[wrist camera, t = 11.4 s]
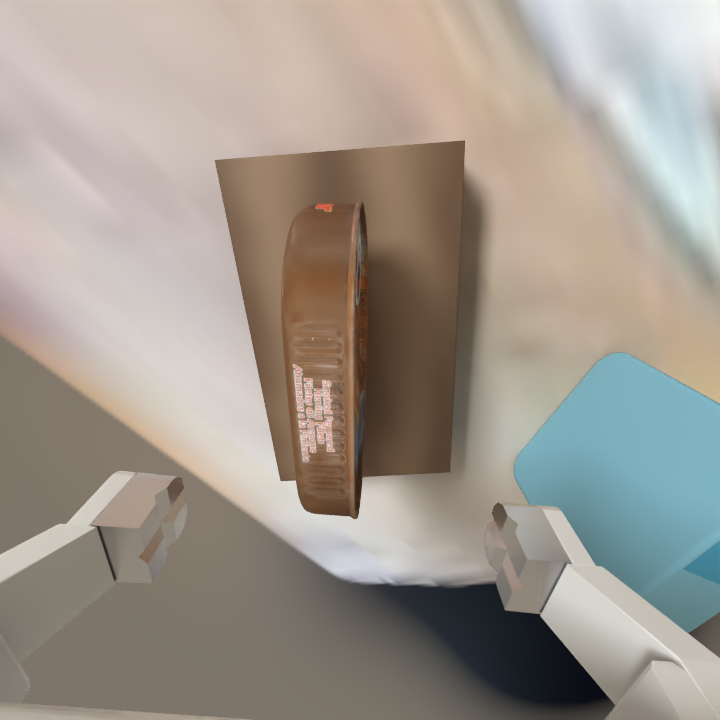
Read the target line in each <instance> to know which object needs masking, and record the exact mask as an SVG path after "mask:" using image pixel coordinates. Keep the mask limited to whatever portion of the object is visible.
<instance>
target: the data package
mask: <svg viewBox="0 0 720 720" xmlns="http://www.w3.org/2000/svg"><path fill="white" fill-rule="evenodd" d="M514 476H515V479H516V481H517V483H518V485H519V487H520V489H521V490H522V492H523V494H524V496H525V497H526V499H527V501H528V503H529V505H535V506H536V505H541V506H555V507H558V508H559V509H560V510H561V511H562V512H563V514H564V516H565V517H566V519H567V520H568V522H569V524H570V525H571V527H572V528H573V530H574V532H575V533H576V535H577V536H578V538H579V540H580V541H581V543H582V544H583V546H584V548H585V549H586V551H587V552H588V554H589V555H590V557H591V559H592V560H593V562H594V563H595V565H596V566H601V567H603V568H605V569H606V570H607V571H609V572H610V573H611V574H612V575H614V576H615V577H616V578H618V579H619V580H620V581H621V582H623V583H624V584H625V585H627V586H628V587H629V588H630V589H632V590H633V591H634V592H635V593H637V594H638V595H639V596H641V597H642V598H643V599H644V600H646V601H647V602H648V603H650V604H651V605H652V606H653V607H655V608H656V609H657V610H659V611H660V612H661V613H662V614H664V615H665V616H666V617H667V618H669V619H670V620H671V621H673V622H674V623H675V624H676V625H678V626H679V627H680V628H682V629H683V630H684V631H685V632H687V633H689V632H691V631H692V630H694V629H695V628H697V627H698V626H700V625H701V624H703V623H704V622H706V621H707V620H708V619H710V618H711V617H713V616H714V615H716V614H717V613H719V612H720V404H719V403H717V402H716V401H714V400H712V399H710V398H708V397H706V396H705V395H703V394H701V393H699V392H697V391H696V390H694V389H692V388H690V387H688V386H687V385H685V384H683V383H681V382H679V381H677V380H676V379H674V378H672V377H670V376H668V375H666V374H665V373H663V372H661V371H659V370H657V369H655V368H654V367H652V366H650V365H648V364H646V363H644V362H643V361H641V360H639V359H637V358H635V357H633V356H631V355H629V354H627V353H613V354H609V355H607V356H605V357H603V358H602V359H601V360H599V361H598V362H597V363H596V364H595V365H594V366H593V368H592V369H591V370H590V371H589V372H588V374H587V375H586V376H585V377H584V378H583V379H582V381H581V382H580V383H579V384H578V385H577V387H576V388H575V389H574V390H573V391H572V392H571V394H570V395H569V396H568V397H567V398H566V400H565V401H564V402H563V403H562V404H561V405H560V407H559V408H558V409H557V410H556V411H555V412H554V414H553V415H552V416H551V417H550V418H549V420H548V421H547V422H546V423H545V424H544V425H543V427H542V428H541V429H540V430H539V431H538V433H537V434H536V435H535V436H534V437H533V438H532V440H531V441H530V442H529V443H528V444H527V446H526V447H525V448H524V449H523V450H522V451H521V453H520V454H519V455H518V457H517V459H516V461H515V465H514Z"/></svg>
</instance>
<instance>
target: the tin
mask: <svg viewBox="0 0 720 720" xmlns="http://www.w3.org/2000/svg"><path fill="white" fill-rule="evenodd" d="M281 321H282V336H283V347H284V360H285V372H286V383H287V394H288V406H289V415H290V425H291V436H292V446H293V456H294V464H295V474H296V483H297V489H298V495H299V499H300V502H301V504H302V506H303V508H304V509H305V510H306V511H308V512H310V513H314V514H325V515H339V516H350V517H352V518H353V519H357V518H358V514H359V508H360V499H361V489H362V475H363V458H364V446H365V433H366V395H367V324H368V240H367V223H366V214H365V209H364V203H363V202H362V201H358V202H357V203H356V204H312V205H308V206H306V207H305V208H304V209H302V210H301V211H300V212H299V213H298V214H297V215H296V217H295V218H294V220H293V221H292V223H291V226H290V229H289V233H288V236H287V240H286V246H285V251H284V257H283V267H282V280H281Z"/></svg>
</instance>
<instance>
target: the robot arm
mask: <svg viewBox="0 0 720 720" xmlns="http://www.w3.org/2000/svg"><path fill="white" fill-rule="evenodd" d="M183 488H184V487H183V482H182V478H180V477H177V476H167V475H158V474H148V473H135V472H127V471H118V472H116V473H114V474H112V475H111V476H110V478H109V479H108V480H107V481H106V482H105V483H104V484H103V485H102V486H101V487H100V488H99V489H98V490H97V491H96V493H95V494H94V495H93V496H92V497H91V498H90V499H89V500H88V501H87V502H86V503H85V504H84V505H83V506H82V508H81V509H80V510H79V511H78V512H77V513H76V514H75V515H74V516H73V517H72V518H71V519H70V520H69V522H68V523H67V524H58V525H56V526H54V527H52V528H51V529H49V530H47V531H45V532H43V533H41V534H39V535H37V536H35V537H33V538H31V539H29V540H28V541H26V542H24V543H22V544H20V545H18V546H16V547H14V548H12V549H10V550H8V551H6V552H4V553H3V554H1V555H0V720H250V719H236V718H222V717H208V716H193V715H178V714H165V713H164V714H163V713H150V712H136V711H121V710H107V709H92V708H78V707H63V706H49V705H34V704H20V703H21V701H22V700H23V698H24V697H25V695H26V693H27V692H28V691H29V689H30V681H29V679H28V677H27V675H26V674H25V672H24V671H23V669H22V667H21V666H20V664H19V663H20V662H21V661H22V660H23V659H25V658H26V657H27V656H28V655H30V654H31V653H32V652H33V651H34V650H36V649H37V648H38V647H39V646H40V645H42V644H43V643H44V642H45V641H46V640H48V639H49V638H50V637H51V636H53V635H54V634H55V633H56V632H57V631H59V630H60V629H61V628H62V627H63V626H64V625H66V624H67V623H68V622H69V621H71V620H72V619H73V618H74V617H76V616H77V615H78V614H79V613H80V612H82V611H83V610H84V609H85V608H86V607H88V606H89V605H90V604H91V603H92V602H94V601H95V600H96V599H97V598H98V597H100V596H101V595H102V594H103V593H105V592H106V591H107V590H108V589H109V588H111V587H112V586H113V585H114V584H115V582H135V583H153V582H154V580H155V578H156V576H157V575H158V573H159V571H160V569H161V567H162V566H163V564H164V562H165V560H166V558H167V557H168V556H167V550H166V547H167V546H169V545H170V544H172V543H173V542H175V541H176V540H177V539H178V537H179V535H180V533H181V531H182V530H183V527H184V523H185V520H186V515H187V504H186V501H185V499H184V498H183V497H182V496H181V495H180V493H181V492H182V490H183ZM492 514H493V517H494V519H495V520H494V521H493V522H492V523H490V524H489V525H488V526H487V530H486V533H485V549H486V555H487V558H488V561H489V564H490V565H491V566H492V567H493V568H494V569H495V570H496V571H497V572H498V573H499V574H498V576H497V579H496V585H497V588H498V591H499V594H500V597H501V600H502V602H503V605H504V609H505V610H508V611H518V612H528V613H536V614H541V617H542V619H543V620H544V621H545V622H546V623H547V624H548V626H549V627H550V628H551V629H552V630H553V631H554V633H555V634H556V635H557V636H558V638H559V639H560V640H561V641H562V642H563V643H564V645H565V646H566V647H567V648H568V649H569V651H570V652H571V653H572V654H573V655H574V656H575V658H576V659H577V660H578V661H579V662H580V664H581V665H582V666H583V667H584V668H585V670H586V671H587V672H588V673H589V674H590V675H591V677H592V678H593V679H594V680H595V681H596V683H597V684H598V685H599V686H600V687H601V688H602V690H603V691H604V692H605V693H606V695H607V696H608V697H609V698H610V699H611V700H612V701H613V703H614V704H615V705H616V706H615V707H614V709H613V710H612V711H611V712H610V714H609V715H608V716H607V717H606V719H605V720H720V658H719V657H717V656H716V655H715V654H713V653H712V652H711V651H710V650H708V649H707V648H706V647H704V646H703V645H702V644H700V643H699V642H698V641H697V640H695V639H694V638H693V637H692V636H691V635H689V634H688V633H687V632H685V631H684V630H683V629H682V628H680V627H679V626H678V625H676V624H675V623H674V622H673V621H671V620H670V619H669V618H667V617H666V616H665V615H664V614H662V613H661V612H660V611H659V610H657V609H656V608H655V607H653V606H652V605H651V604H650V603H648V602H647V601H646V600H644V599H643V598H642V597H641V596H639V595H638V594H637V593H635V592H634V591H633V590H632V589H630V588H629V587H628V586H627V585H625V584H624V583H623V582H621V581H620V580H619V579H618V578H616V577H615V576H614V575H612V574H611V573H610V572H609V571H607V570H606V569H605V568H603V567H601V566H596V565H595V563H594V562H593V560H592V559H591V557H590V555H589V554H588V552H587V551H586V549H585V548H584V546H583V544H582V543H581V541H580V540H579V538H578V536H577V535H576V533H575V532H574V530H573V528H572V527H571V525H570V524H569V522H568V520H567V519H566V517H565V516H564V514H563V512H562V511H561V510H560V509H559V508H558V507H555V506H541V505H536V506H535V505H528V504H514V503H499V502H498V503H497V504H496V505H495V506H494V509H493V512H492Z"/></svg>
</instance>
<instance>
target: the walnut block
mask: <svg viewBox="0 0 720 720" xmlns="http://www.w3.org/2000/svg"><path fill="white" fill-rule="evenodd" d="M464 153H465V141H453V142H441V143H428V144H415V145H402V146H389V147H377V148H364V149H351V150H338V151H326V152H313V153H300V154H287V155H275V156H262V157H249V158H236V159H224V160H215V163H216V168H217V173H218V178H219V183H220V188H221V192H222V197H223V202H224V207H225V212H226V217H227V222H228V227H229V231H230V236H231V241H232V246H233V251H234V256H235V261H236V266H237V271H238V275H239V280H240V285H241V290H242V295H243V300H244V305H245V310H246V314H247V319H248V324H249V329H250V334H251V339H252V344H253V349H254V353H255V358H256V363H257V368H258V373H259V378H260V383H261V388H262V393H263V397H264V402H265V407H266V412H267V417H268V422H269V427H270V432H271V436H272V441H273V446H274V451H275V456H276V461H277V466H278V471H279V475H280V480H281V481H292V480H296V474H295V464H294V456H293V446H292V436H291V425H290V415H289V406H288V394H287V383H286V372H285V360H284V347H283V336H282V321H281V280H282V267H283V257H284V251H285V246H286V240H287V236H288V233H289V229H290V226H291V223H292V221H293V220H294V218H295V217H296V215H297V214H298V213H299V212H300V211H301V210H302V209H304V208H305V207H306V206H308V205H312V204H356V203H357V202H358V201H362V202H363V203H364V209H365V214H366V223H367V240H368V324H367V395H366V433H365V446H364V458H363V475H362V477H368V476H387V475H406V474H425V473H444V472H450V460H451V438H452V416H453V394H454V372H455V350H456V328H457V306H458V285H459V263H460V241H461V219H462V197H463V175H464Z"/></svg>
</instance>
